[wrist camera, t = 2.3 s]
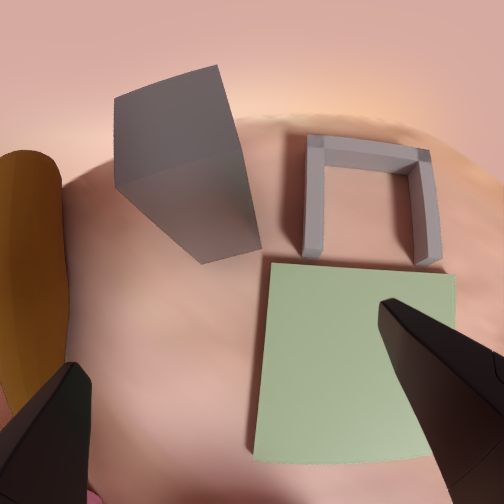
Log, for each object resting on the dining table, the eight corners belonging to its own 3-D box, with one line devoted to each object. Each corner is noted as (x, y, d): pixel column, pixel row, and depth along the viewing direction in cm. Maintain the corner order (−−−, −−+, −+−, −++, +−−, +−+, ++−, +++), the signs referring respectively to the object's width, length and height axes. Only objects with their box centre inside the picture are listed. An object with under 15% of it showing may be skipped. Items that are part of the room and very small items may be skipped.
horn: (77, 443, 22) (37, 209, 28) (130, 457, 17) (75, 156, 23) (8, 459, 15) (-24, 200, 21) (37, 488, 10) (-1, 136, 17)
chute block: (262, 248, 22) (241, 148, 10) (201, 264, 22) (114, 187, 10) (247, 193, 23) (217, 64, 11) (190, 208, 23) (114, 98, 11)
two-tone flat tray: (431, 449, 17) (445, 460, 15) (253, 455, 19) (250, 469, 16) (437, 168, 23) (450, 154, 20) (279, 149, 24) (279, 132, 22)
